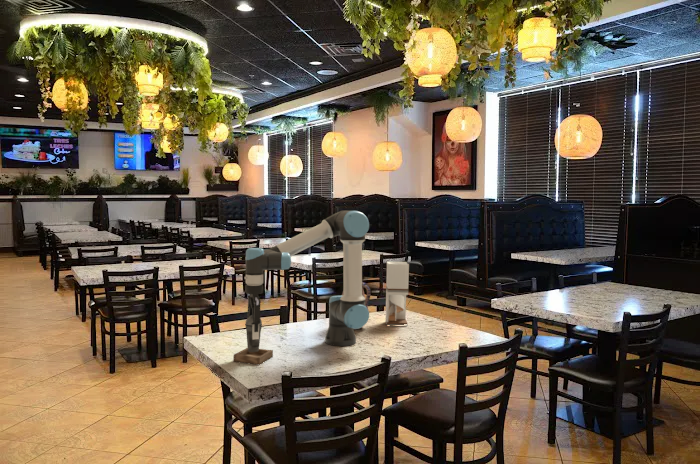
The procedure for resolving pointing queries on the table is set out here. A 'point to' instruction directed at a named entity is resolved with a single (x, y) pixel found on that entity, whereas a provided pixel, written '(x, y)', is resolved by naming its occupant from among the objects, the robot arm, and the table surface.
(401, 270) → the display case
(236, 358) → the wooden tray
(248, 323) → the beverage cup
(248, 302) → the robot arm
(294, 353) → the table surface
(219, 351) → the table surface
